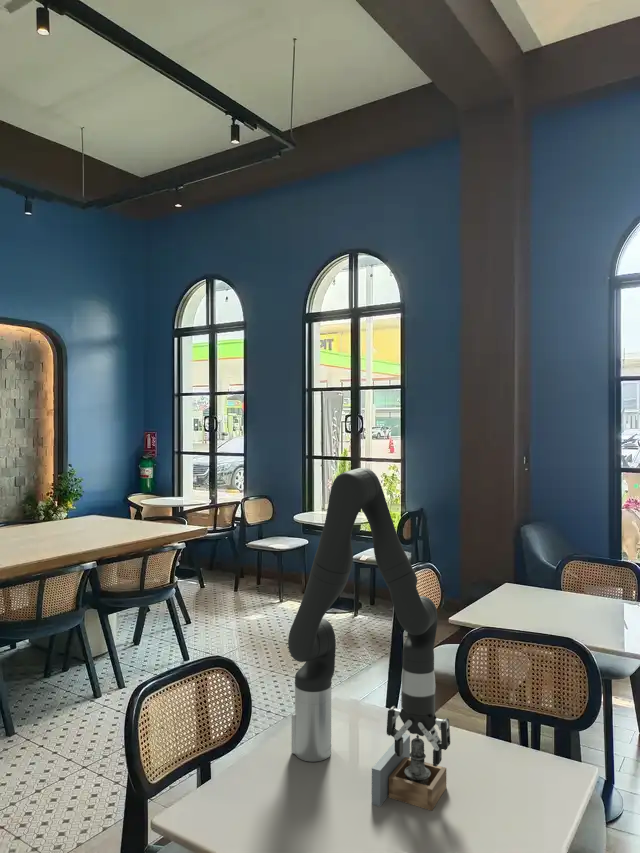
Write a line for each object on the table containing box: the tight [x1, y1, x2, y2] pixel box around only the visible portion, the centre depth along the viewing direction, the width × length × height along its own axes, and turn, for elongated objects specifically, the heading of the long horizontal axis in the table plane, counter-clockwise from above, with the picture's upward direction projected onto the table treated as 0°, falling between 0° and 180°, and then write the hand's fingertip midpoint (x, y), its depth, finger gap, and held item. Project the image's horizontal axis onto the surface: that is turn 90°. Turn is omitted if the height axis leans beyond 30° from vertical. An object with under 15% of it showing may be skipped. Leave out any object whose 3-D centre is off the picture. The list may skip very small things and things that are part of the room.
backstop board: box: [371, 733, 411, 807], centre depth 148 cm, size 2×18×8 cm, turn 151°
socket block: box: [388, 757, 447, 812], centre depth 145 cm, size 10×10×4 cm
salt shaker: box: [404, 734, 431, 786], centre depth 145 cm, size 6×6×12 cm
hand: (417, 759), depth 145 cm, fingers open, 8 cm apart
